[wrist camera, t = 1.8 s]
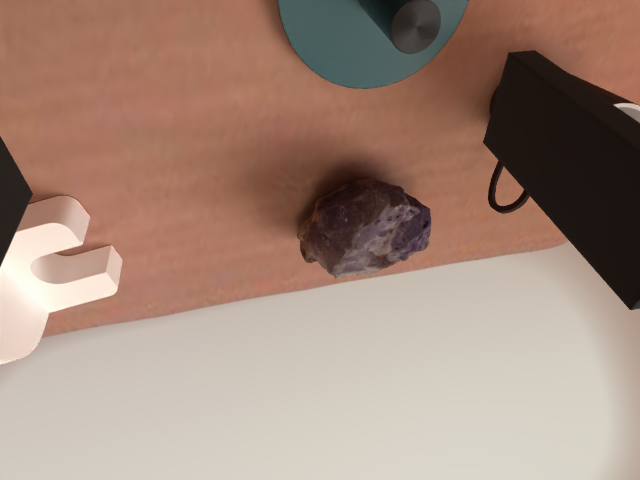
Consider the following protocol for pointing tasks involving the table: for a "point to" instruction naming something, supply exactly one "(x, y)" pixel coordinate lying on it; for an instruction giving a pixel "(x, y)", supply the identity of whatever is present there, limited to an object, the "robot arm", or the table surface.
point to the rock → (364, 228)
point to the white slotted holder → (49, 273)
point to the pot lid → (369, 36)
